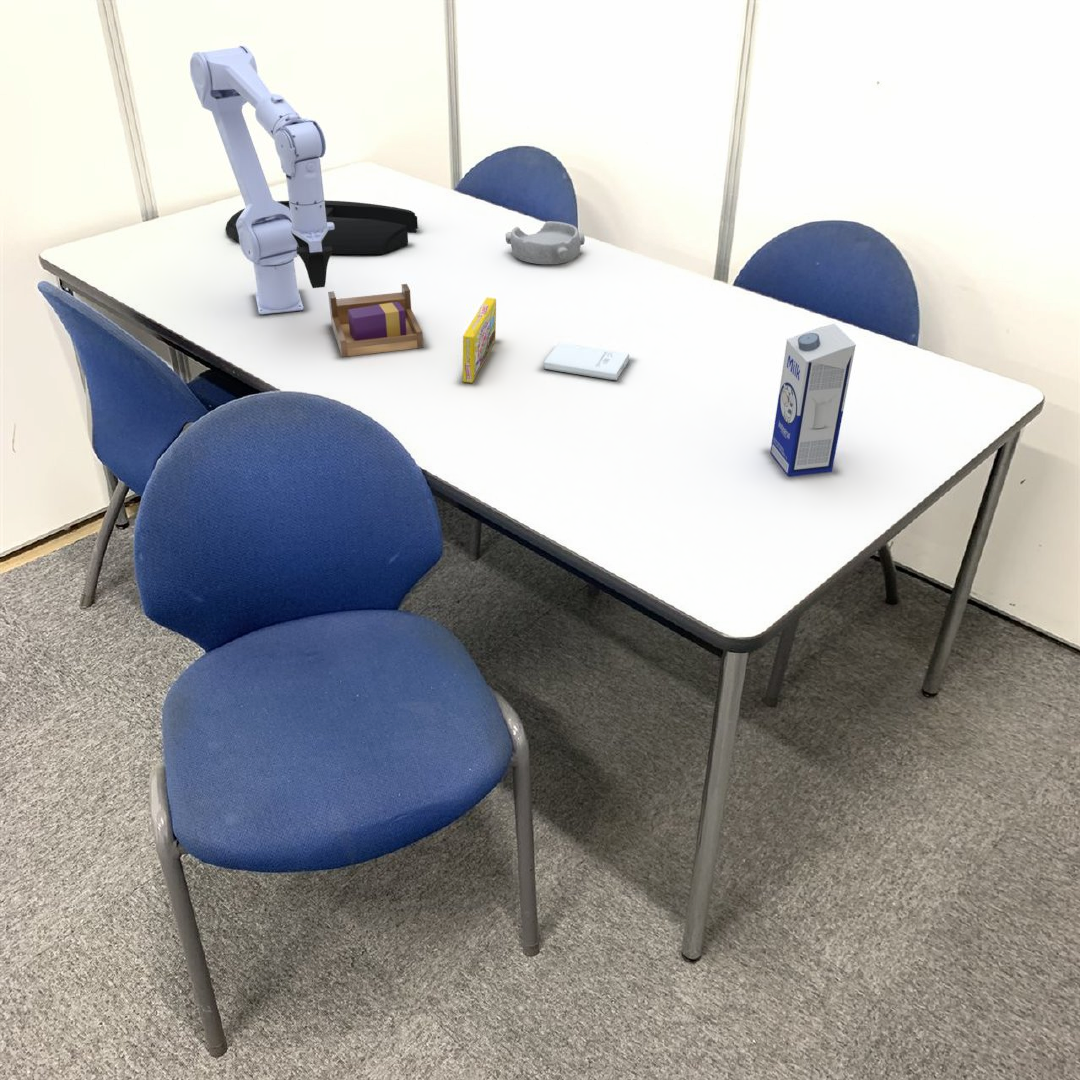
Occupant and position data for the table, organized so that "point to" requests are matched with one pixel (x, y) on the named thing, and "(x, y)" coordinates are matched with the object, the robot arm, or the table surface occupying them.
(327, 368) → the table surface
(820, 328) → the milk carton
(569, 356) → the hard drive
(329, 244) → the docking station
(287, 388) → the table surface
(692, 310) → the table surface
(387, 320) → the chocolate bar
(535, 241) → the dish
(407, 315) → the tray
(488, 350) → the candy box
